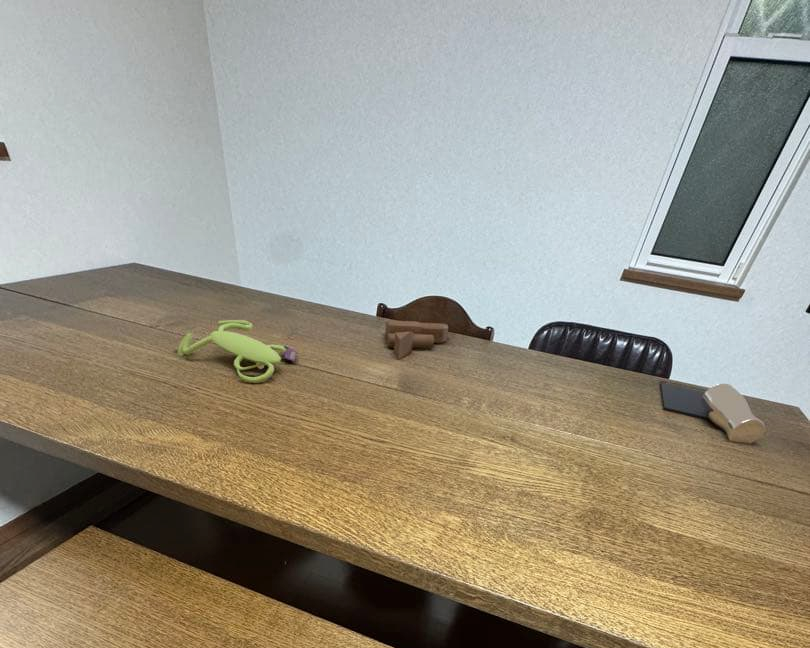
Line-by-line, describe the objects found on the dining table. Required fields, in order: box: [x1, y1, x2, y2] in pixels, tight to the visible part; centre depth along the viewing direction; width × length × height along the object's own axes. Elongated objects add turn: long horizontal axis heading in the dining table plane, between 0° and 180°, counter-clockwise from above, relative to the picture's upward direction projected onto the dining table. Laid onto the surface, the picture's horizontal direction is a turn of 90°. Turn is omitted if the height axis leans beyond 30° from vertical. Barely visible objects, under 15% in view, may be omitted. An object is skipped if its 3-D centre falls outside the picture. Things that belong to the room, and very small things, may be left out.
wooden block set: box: [384, 319, 449, 361], centre depth 118 cm, size 17×6×18 cm
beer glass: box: [701, 383, 766, 445], centre depth 95 cm, size 7×7×15 cm
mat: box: [659, 382, 712, 422], centre depth 108 cm, size 16×18×1 cm
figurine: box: [177, 319, 298, 384], centre depth 100 cm, size 18×27×6 cm
